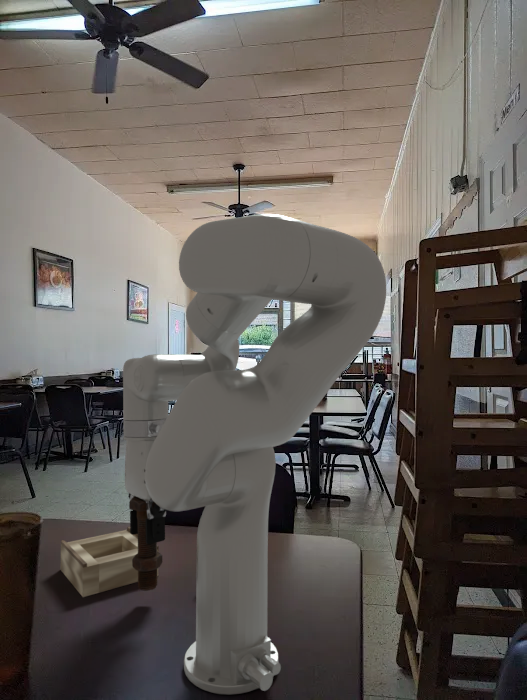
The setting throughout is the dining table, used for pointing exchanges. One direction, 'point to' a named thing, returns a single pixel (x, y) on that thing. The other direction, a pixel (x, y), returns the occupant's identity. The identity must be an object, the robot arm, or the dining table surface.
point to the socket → (100, 562)
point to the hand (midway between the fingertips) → (147, 536)
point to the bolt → (145, 549)
